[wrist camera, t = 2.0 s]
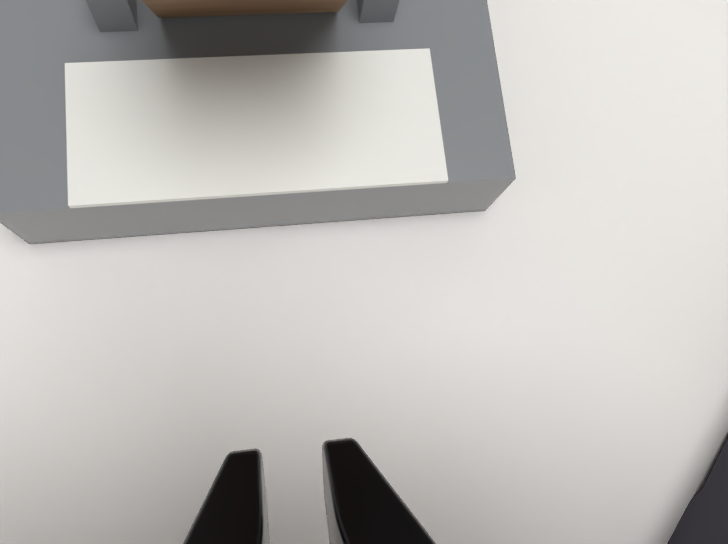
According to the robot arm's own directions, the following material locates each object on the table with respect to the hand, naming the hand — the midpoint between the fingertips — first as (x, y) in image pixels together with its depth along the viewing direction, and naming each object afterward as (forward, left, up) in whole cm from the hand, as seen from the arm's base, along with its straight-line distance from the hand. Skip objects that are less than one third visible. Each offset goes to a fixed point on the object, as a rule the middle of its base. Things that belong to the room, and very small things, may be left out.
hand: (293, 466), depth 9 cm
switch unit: (+9, +9, -12) cm, 17 cm away
